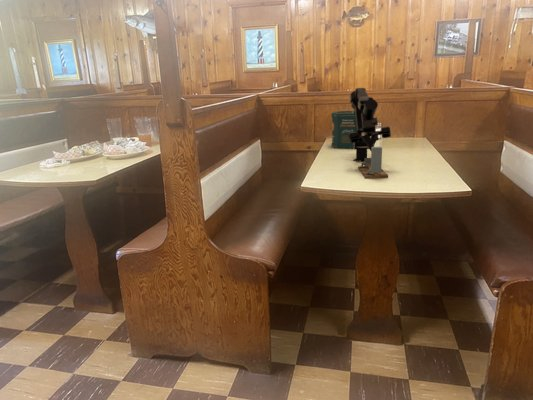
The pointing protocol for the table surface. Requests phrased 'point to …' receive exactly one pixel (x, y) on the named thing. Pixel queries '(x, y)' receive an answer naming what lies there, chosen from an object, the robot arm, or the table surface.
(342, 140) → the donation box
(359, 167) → the hole plate
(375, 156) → the block
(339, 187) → the table surface
